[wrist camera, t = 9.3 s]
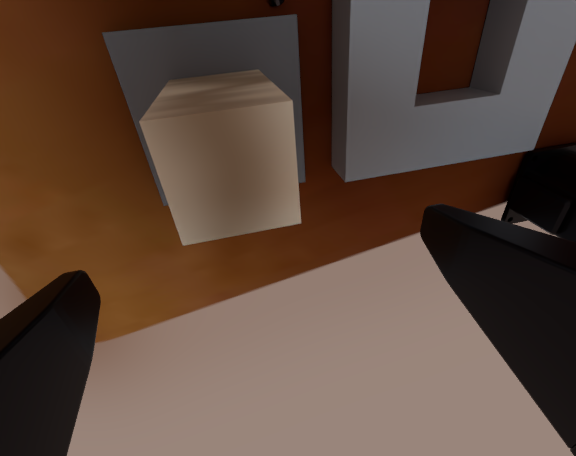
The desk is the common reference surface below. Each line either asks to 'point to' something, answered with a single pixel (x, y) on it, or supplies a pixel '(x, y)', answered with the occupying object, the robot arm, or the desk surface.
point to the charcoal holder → (444, 104)
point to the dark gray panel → (207, 63)
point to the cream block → (225, 154)
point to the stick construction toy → (276, 2)
